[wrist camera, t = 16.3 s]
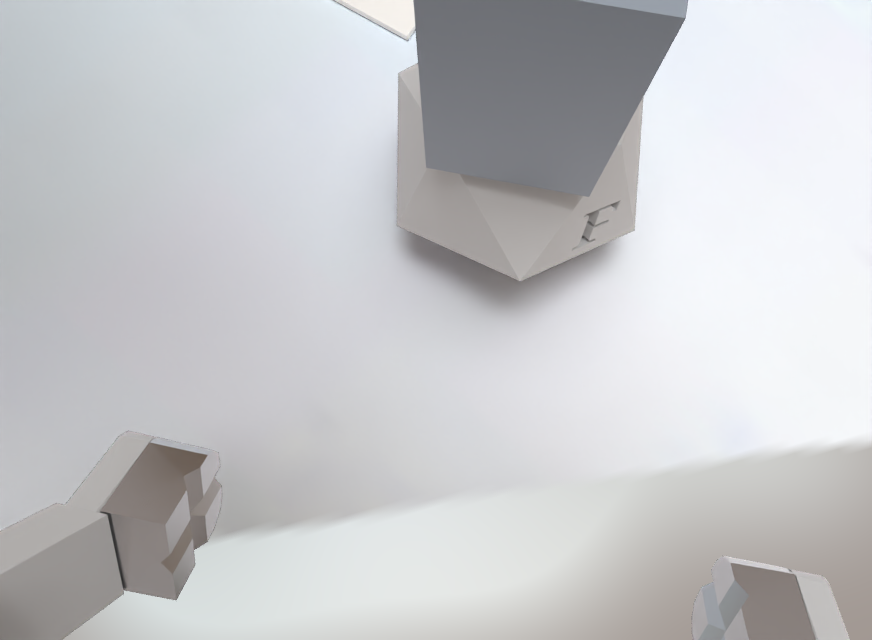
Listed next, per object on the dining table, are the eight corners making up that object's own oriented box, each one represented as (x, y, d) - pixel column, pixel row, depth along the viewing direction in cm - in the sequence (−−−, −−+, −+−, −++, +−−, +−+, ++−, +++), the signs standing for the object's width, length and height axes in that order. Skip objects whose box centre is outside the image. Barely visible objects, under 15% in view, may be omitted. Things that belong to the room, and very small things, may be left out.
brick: (588, 197, 19) (685, 17, 11) (426, 167, 20) (411, -27, 12) (613, 48, 20) (719, -212, 12) (456, 22, 20) (462, -250, 13)
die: (386, 295, 27) (540, 339, 19) (320, 69, 25) (467, 9, 16) (544, 229, 31) (733, 243, 23) (502, 25, 28) (699, -43, 20)
